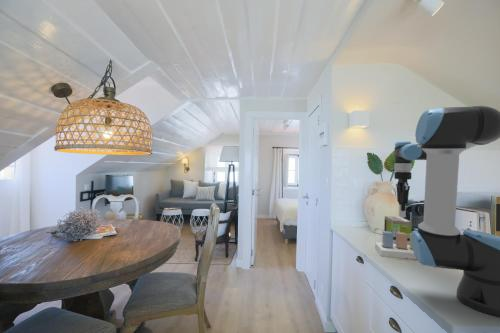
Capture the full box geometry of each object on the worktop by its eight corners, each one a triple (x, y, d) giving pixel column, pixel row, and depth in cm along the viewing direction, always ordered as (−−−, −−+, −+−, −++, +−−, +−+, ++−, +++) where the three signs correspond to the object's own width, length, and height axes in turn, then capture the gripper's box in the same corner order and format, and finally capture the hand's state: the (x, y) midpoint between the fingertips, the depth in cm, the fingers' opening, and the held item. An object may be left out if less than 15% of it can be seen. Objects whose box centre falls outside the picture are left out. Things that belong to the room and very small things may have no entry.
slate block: (393, 247, 127) (393, 233, 127) (384, 246, 128) (384, 232, 128) (390, 244, 131) (390, 231, 131) (382, 244, 132) (382, 231, 132)
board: (431, 261, 118) (431, 254, 118) (381, 256, 124) (381, 250, 124) (419, 251, 132) (419, 245, 132) (375, 247, 137) (375, 242, 137)
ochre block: (421, 249, 124) (421, 235, 124) (412, 248, 125) (412, 235, 125) (418, 247, 127) (418, 233, 128) (409, 246, 129) (409, 233, 129)
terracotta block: (407, 248, 125) (407, 234, 125) (398, 247, 126) (398, 233, 126) (404, 245, 129) (404, 232, 129) (395, 245, 130) (396, 232, 130)
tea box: (411, 247, 139) (412, 221, 139) (392, 246, 141) (392, 220, 141) (401, 239, 153) (401, 216, 153) (383, 238, 155) (383, 215, 155)
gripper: (416, 172, 120) (415, 220, 120) (406, 171, 132) (405, 214, 133) (398, 171, 122) (398, 219, 122) (391, 171, 134) (390, 213, 135)
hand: (402, 216), depth 127 cm, fingers closed
